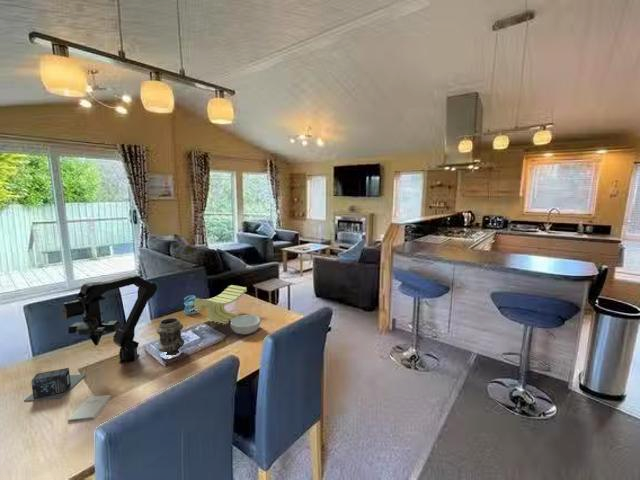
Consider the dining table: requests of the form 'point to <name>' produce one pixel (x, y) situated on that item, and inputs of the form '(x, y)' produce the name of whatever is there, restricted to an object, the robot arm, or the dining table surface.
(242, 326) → the cereal bowl
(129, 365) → the dining table surface
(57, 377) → the box
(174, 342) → the apothecary jar
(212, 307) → the slatted curved stool
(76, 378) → the mat
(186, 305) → the blue patterned cup
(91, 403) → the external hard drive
